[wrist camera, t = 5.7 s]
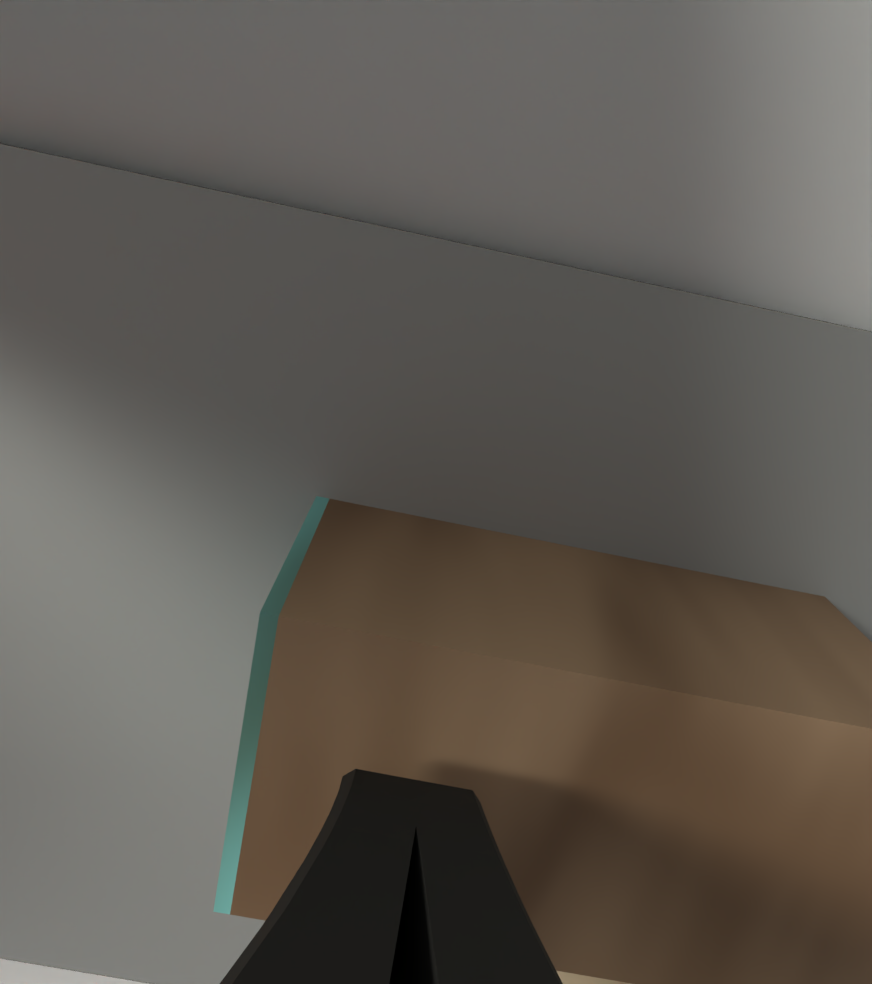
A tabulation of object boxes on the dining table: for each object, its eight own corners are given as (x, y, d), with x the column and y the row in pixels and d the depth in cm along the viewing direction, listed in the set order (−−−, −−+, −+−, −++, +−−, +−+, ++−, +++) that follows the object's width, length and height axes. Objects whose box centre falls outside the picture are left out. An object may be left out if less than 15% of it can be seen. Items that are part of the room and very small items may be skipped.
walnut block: (277, 722, 14) (744, 807, 14) (213, 912, 10) (855, 1021, 10) (316, 495, 13) (824, 596, 13) (259, 612, 9) (982, 750, 9)
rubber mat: (835, 1075, 17) (846, 1100, 16) (-79, 920, 16) (-96, 942, 15) (1158, 393, 12) (1186, 399, 12) (-59, 130, 12) (-82, 126, 11)
